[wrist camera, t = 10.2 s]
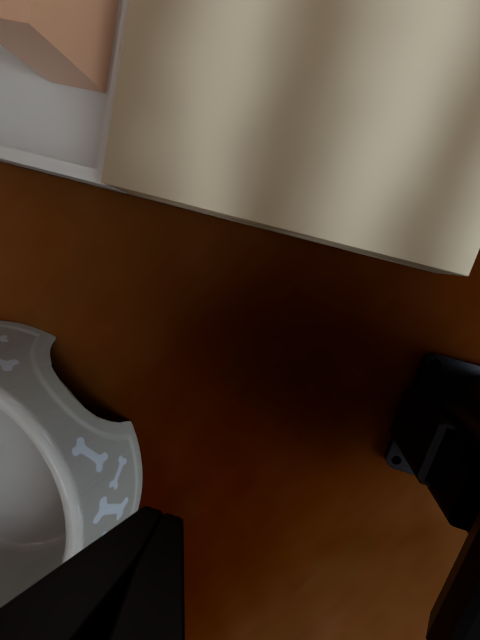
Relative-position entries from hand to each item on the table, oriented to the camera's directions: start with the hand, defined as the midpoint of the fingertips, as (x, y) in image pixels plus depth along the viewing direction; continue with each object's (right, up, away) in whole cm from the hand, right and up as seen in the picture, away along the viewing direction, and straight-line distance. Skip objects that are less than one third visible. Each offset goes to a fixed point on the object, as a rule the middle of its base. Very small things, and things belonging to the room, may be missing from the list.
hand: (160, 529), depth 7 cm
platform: (+5, +15, +9) cm, 18 cm away
